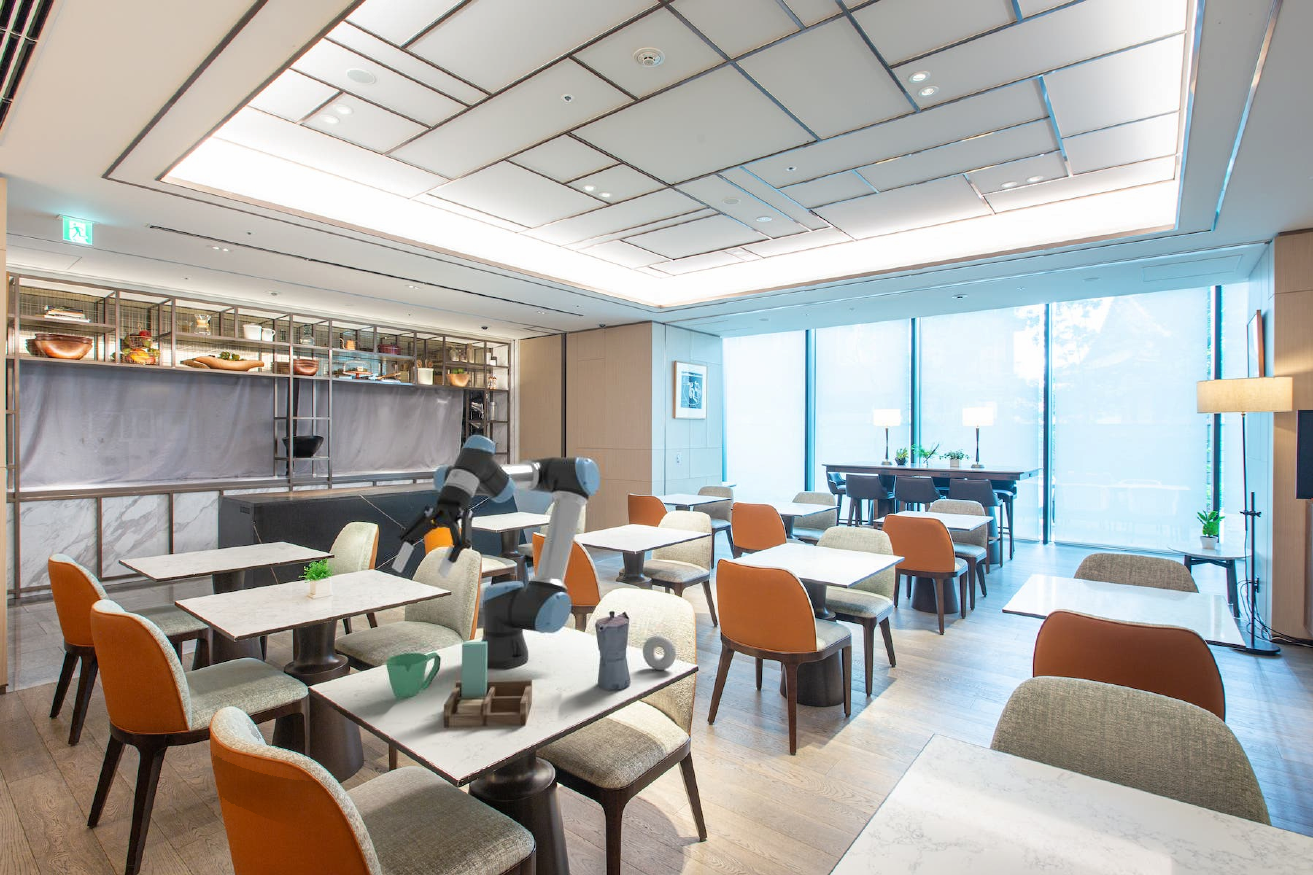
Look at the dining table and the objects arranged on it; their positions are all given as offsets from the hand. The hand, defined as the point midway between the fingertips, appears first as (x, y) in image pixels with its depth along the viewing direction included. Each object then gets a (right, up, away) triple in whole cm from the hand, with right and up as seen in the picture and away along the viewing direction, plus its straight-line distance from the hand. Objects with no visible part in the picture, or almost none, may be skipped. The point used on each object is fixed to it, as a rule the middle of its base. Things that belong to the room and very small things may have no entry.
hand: (418, 572), depth 144 cm
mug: (-9, -36, +21) cm, 43 cm away
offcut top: (+11, -32, +3) cm, 34 cm away
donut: (+54, -37, +42) cm, 78 cm away
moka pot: (+42, -37, +30) cm, 63 cm away
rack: (+14, -36, +6) cm, 39 cm away
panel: (+10, -35, +8) cm, 37 cm away
